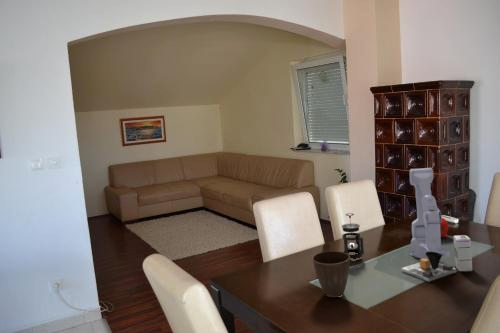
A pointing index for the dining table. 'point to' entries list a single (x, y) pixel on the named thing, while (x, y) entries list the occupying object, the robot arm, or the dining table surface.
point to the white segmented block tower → (462, 253)
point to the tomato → (443, 227)
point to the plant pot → (332, 271)
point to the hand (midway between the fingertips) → (435, 268)
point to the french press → (352, 246)
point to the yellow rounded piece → (424, 263)
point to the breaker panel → (416, 266)
